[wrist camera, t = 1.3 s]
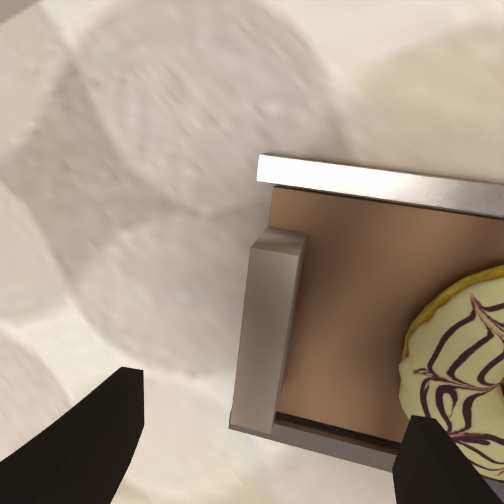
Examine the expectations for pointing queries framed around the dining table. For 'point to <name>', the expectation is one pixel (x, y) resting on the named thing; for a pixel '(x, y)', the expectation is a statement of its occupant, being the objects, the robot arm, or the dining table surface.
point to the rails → (386, 187)
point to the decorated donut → (461, 367)
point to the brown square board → (345, 305)
